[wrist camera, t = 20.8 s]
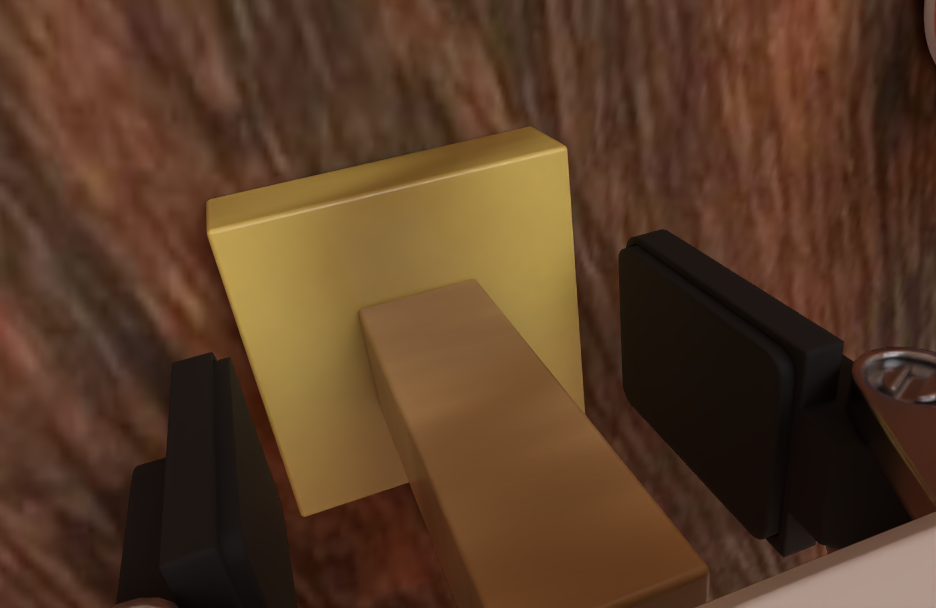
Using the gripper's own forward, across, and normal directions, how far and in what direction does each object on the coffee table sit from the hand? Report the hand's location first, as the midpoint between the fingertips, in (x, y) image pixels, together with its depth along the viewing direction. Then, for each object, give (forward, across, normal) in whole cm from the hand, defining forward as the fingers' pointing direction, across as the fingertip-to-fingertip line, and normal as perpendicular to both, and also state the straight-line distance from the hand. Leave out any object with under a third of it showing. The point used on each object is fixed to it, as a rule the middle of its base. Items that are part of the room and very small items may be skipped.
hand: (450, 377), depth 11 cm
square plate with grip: (+3, 0, 0) cm, 3 cm away
